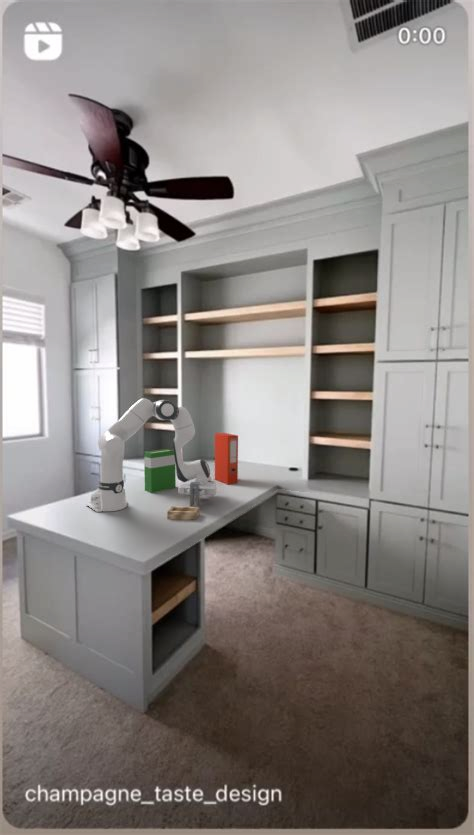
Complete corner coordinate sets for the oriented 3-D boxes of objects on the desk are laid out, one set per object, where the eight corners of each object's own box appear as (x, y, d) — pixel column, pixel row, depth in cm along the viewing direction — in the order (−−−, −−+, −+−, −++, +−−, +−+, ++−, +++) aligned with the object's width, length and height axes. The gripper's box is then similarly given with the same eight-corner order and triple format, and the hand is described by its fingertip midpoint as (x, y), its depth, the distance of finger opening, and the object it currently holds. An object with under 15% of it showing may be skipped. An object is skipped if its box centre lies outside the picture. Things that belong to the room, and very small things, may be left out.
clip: (190, 506, 191) (190, 483, 190) (191, 504, 194) (191, 481, 194) (198, 506, 190) (198, 483, 190) (199, 504, 194) (199, 482, 193)
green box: (168, 485, 240) (168, 448, 238) (175, 487, 235) (175, 450, 233) (144, 490, 228) (144, 451, 226) (151, 492, 223) (150, 453, 221)
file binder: (224, 477, 261) (224, 432, 259) (237, 483, 246) (238, 435, 244) (214, 479, 257) (214, 433, 254) (227, 484, 242) (227, 436, 240)
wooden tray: (167, 518, 178) (167, 511, 178) (172, 513, 186) (171, 506, 186) (196, 519, 177) (196, 512, 176) (199, 514, 185) (199, 507, 184)
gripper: (181, 480, 206) (174, 486, 192) (218, 481, 204) (213, 488, 190) (181, 491, 206) (174, 498, 192) (217, 493, 204) (213, 500, 190)
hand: (194, 493), depth 191 cm, fingers closed on clip, 4 cm apart
